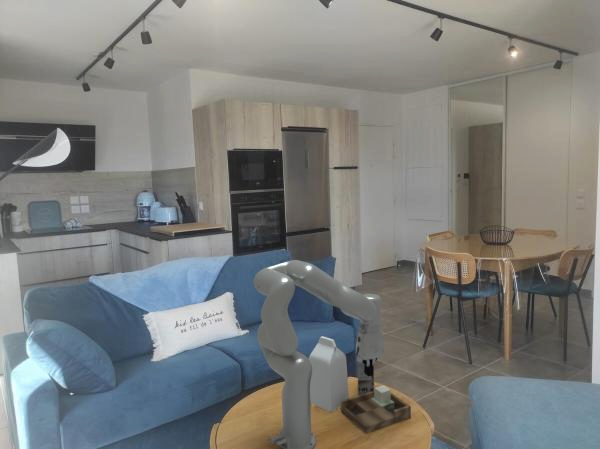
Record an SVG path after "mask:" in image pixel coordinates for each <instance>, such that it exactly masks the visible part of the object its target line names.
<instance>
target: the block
mask: <svg viewBox="0 0 600 449" xmlns="http://www.w3.org/2000/svg"><path fill="white" fill-rule="evenodd" d="M391 391H392V390H391V389H390V388H388V387H387V386H386V385H384V384H382V385H379V386H376V387H374V398H375V399H377V400H378V401H380V402H381V403H382V402H385V401H388V400H391V393H392V392H391Z"/></svg>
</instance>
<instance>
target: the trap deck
mask: <svg viewBox="0 0 600 449" xmlns="http://www.w3.org/2000/svg"><path fill="white" fill-rule="evenodd" d="M340 410H341V411H340V412H341V413H342V415H344V416H345V417H346V418H347V419H349V421H350V422H352V423H353V424H354V425H356V426H357V428H358V429H360V430H361V431H362V432H364V433H365V434H370V433H373V432H375V431H378V430H381V429H383V428H386V427H389V426H391V425H395V424H397V423H401V422H403V421H406V420H409V419H411V418H412V416H411V414H412V413H411V412H412V406H411V405H409V404H408V403H406V401H404V400H403V399H400V398H399V397H397V395H395V394H393V393H392V392H391V400H388V401H385V402H382V403H381V402H380V401H378V400H377V399H375V398H374V391H372V392H368V393H365V394H362V395H359V396H358V395H356V396H352V397H349V399H346V400H343V401H341V406H340Z"/></svg>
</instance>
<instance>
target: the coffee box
mask: <svg viewBox="0 0 600 449" xmlns="http://www.w3.org/2000/svg"><path fill="white" fill-rule="evenodd" d="M374 388H375V365H373V376H367V375H366V374H365V373H364V364H363V362H358V361H357V396H359V395H362V394H365V393H368V392H372V391H374Z"/></svg>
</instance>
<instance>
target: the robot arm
mask: <svg viewBox="0 0 600 449" xmlns="http://www.w3.org/2000/svg"><path fill="white" fill-rule="evenodd" d="M253 285H254V288H255V290H256V291H257V292H258V293H259V294H261V295H263V296H265V297H266V298H265V300H264V302H263V305H262V307H261V311H260V319H261V322H262V323H260V325H259V326H258V329H257V334H256V337H257V343H258V345H259V347H260V349H261V351H262V353H263V357H264V359H265V361H266V362H267V364H268V366H269V367H270V369H271V370H272V371H274V372H275V373H277V374H278V375H279V376H280V377H282V378H283V379H284V384H283V387H282V389H281V406H282V407H281V409H282V410H281V411H282V429H280V430H279V432H280V433H278V434H277V435H275V436H272V437H269V442H270V443H269V444H271V445H272V444H276V446H277V447H278V446H279V447H280V448H281V449H314V447H315V446H316V444H317V438H316V435H315V433H313V432H312V416H311V415H312V413H311V412H312V411H311V409H312V407H311V405H312V404H311V403H310V383H311V376H312V364H311V362H310V360H309V357H307V356H306V355H305V354H303V353H302V352H299V351H297V350H298V349H299V348H298V347H299V339H298V336H297V334H296V330H295V329H294V326H293V323H292V321H291V319H290V317H289V316H290V315H289V313H288V308H289V305H290V302H291V300H292V298H293V296H294V294H295V290H296V286H297V287H299V288H301V289H303V290H305V291H306V292H308V293H310V294H311V295H313V296H314V297H316V298H318V299H319V300H321V301H323V302H324V303H327V304H328V305H330V306H333V307H335V308H339V309H340V312H342V313H343V314H344V315H346V316H347V317H348V316H349V317H350V318H354V319H356V320H358V321H359V326H358V325H357V330H358V333H357V337H356V344H355V356H356V362H357V363H358V362H363V364H364V373H365V374H366V375H367V376H373V365H374V366H375V364H376V361H378V360H379V359H381V358H382V357H383V356H384V354H385V352H384V351H385V350H384V349H385V348H384V347H385V346H384V345H385V344H384V343H385V342H384V333H383V331H382V329H381V324H382V323H381V321H382V320H381V317H382V298H381V295H379V294H375V293H365V294H361V293H360V292H359V291H357V290H354V289H353V288H351V287H350V286H347V285H346V284H345V283H342V282H340V281H339V280H337V279H335V278H334V277H332V276H331V275H329V274H328V273H327V272H325V271H324V270H322V269H321V268H319V267H317V266H316V265H314V264H312V263H310V262H307V261H302V260H298V259H292V260H288V261H284V262H280V263H277V264H275V265H274V264H273V265H272V266H267V267H264V268H262V269H261V270H259V271H258V272H257V273H256V274H255V276H254V279H253Z"/></svg>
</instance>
